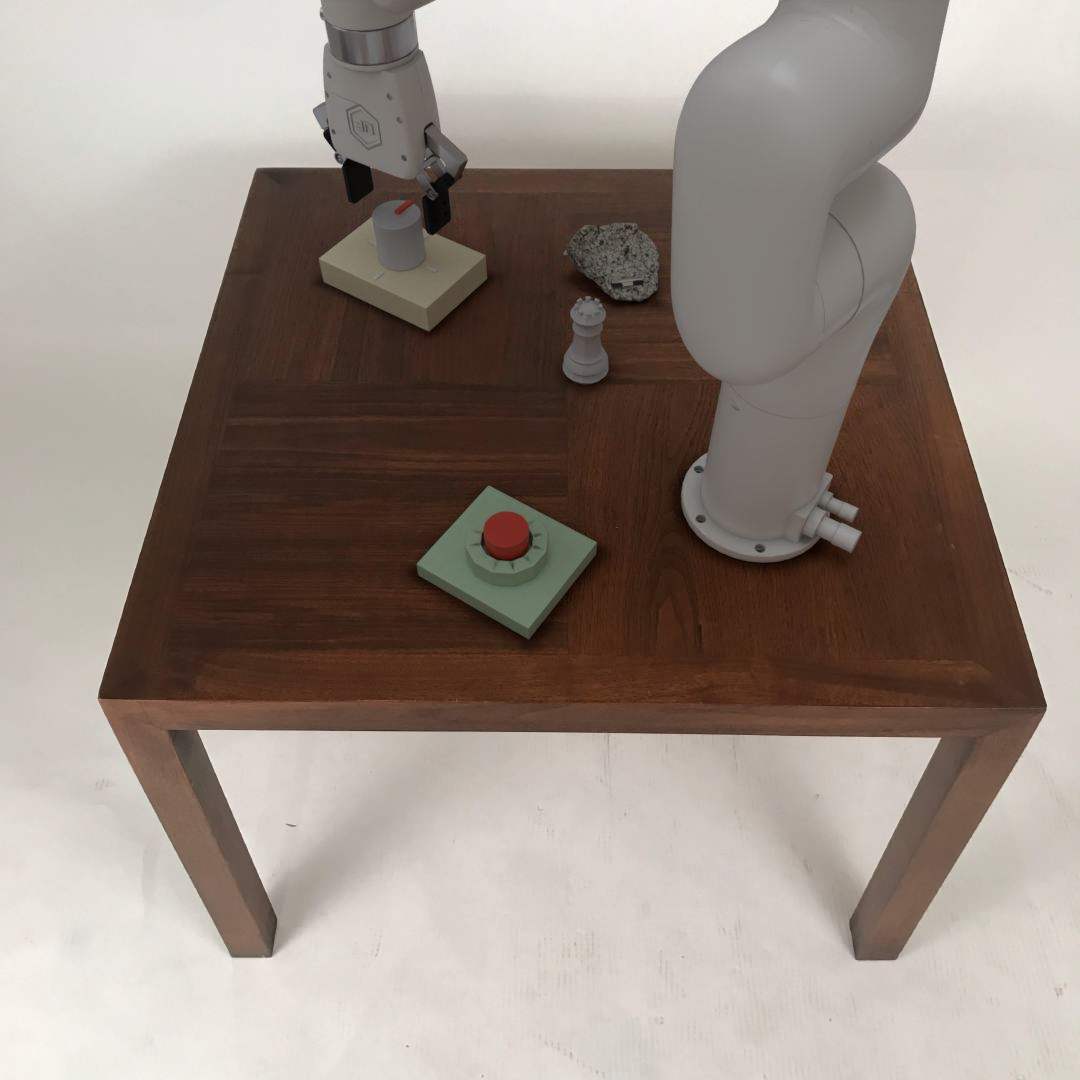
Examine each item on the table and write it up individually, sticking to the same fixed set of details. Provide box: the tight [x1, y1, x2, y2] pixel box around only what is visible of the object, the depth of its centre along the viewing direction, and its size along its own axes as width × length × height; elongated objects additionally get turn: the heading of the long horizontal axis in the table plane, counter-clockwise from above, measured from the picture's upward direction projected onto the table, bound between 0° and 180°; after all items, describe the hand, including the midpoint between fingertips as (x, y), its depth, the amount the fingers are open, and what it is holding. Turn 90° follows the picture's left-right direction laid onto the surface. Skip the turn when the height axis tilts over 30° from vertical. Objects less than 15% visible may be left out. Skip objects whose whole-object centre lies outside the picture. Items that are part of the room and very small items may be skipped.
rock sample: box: [563, 221, 661, 303], centre depth 101 cm, size 10×8×9 cm
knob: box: [371, 198, 426, 271], centre depth 99 cm, size 5×5×5 cm
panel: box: [318, 216, 488, 332], centre depth 102 cm, size 14×10×3 cm
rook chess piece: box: [562, 295, 609, 385], centre depth 92 cm, size 4×4×8 cm
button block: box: [416, 485, 598, 640], centre depth 80 cm, size 11×10×4 cm
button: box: [483, 511, 529, 560], centre depth 78 cm, size 4×4×2 cm
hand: (399, 211), depth 96 cm, fingers open, 9 cm apart
